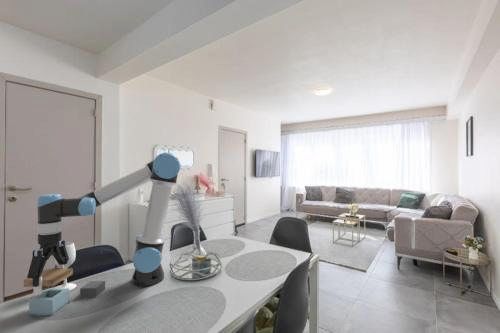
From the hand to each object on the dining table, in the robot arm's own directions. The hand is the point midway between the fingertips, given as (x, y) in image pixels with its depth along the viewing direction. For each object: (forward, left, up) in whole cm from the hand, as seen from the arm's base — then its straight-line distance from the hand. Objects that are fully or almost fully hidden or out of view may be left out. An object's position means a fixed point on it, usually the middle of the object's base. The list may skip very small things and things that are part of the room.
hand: (49, 286), depth 100 cm
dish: (0, 0, -9) cm, 9 cm away
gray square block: (-10, -12, -9) cm, 18 cm away
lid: (0, 0, +3) cm, 3 cm away
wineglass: (+6, -17, -9) cm, 20 cm away
